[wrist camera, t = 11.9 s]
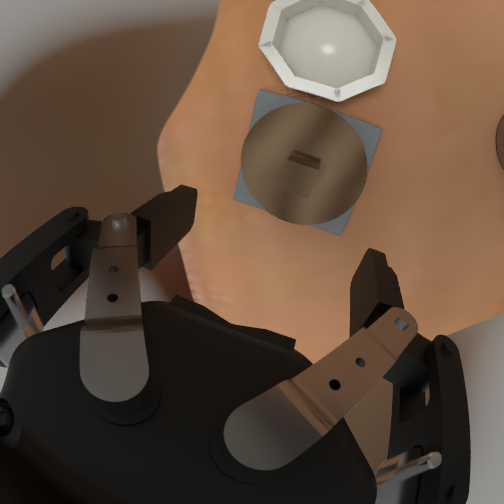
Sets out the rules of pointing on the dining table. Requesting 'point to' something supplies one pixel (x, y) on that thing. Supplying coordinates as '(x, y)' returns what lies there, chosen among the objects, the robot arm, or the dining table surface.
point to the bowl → (328, 46)
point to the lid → (304, 164)
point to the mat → (364, 130)
